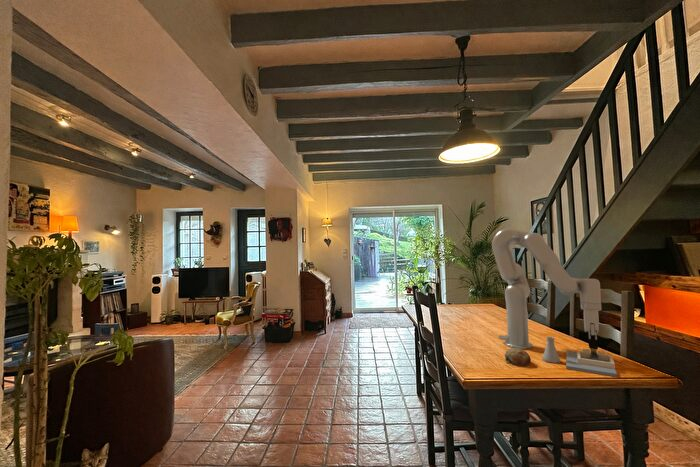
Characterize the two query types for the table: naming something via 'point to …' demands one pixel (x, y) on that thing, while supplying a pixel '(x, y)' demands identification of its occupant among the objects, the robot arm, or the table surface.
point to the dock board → (591, 362)
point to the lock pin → (594, 354)
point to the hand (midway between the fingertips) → (593, 347)
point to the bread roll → (517, 357)
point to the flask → (551, 352)
